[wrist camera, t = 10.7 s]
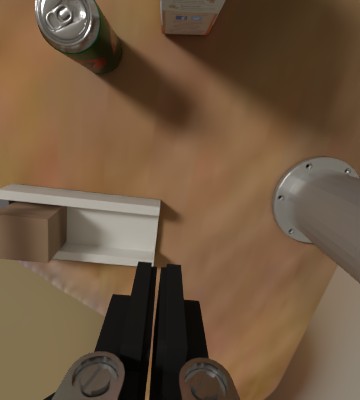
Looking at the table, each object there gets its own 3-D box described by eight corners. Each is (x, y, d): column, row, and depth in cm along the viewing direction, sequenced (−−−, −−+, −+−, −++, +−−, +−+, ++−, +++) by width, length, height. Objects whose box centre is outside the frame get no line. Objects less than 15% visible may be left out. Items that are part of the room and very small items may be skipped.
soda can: (131, 59, 32) (110, 26, 21) (97, 83, 33) (59, 64, 21) (105, 17, 31) (68, -42, 19) (70, 43, 31) (14, 0, 20)
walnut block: (66, 203, 36) (47, 219, 30) (66, 240, 38) (48, 262, 32) (20, 198, 36) (-8, 213, 30) (22, 236, 37) (-5, 258, 31)
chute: (160, 199, 37) (160, 207, 34) (154, 256, 40) (153, 267, 37) (12, 183, 36) (-3, 189, 33) (15, 243, 38) (2, 254, 35)
